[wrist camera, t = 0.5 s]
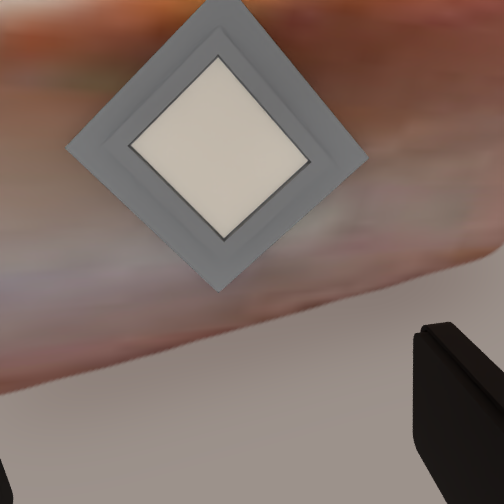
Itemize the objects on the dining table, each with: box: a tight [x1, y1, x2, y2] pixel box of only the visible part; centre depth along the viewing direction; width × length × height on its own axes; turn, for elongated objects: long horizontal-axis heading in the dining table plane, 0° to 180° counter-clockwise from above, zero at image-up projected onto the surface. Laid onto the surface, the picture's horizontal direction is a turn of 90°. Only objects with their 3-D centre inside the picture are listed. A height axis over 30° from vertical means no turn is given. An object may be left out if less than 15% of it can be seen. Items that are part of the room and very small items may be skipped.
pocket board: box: [65, 0, 369, 293], centre depth 35 cm, size 16×16×2 cm
